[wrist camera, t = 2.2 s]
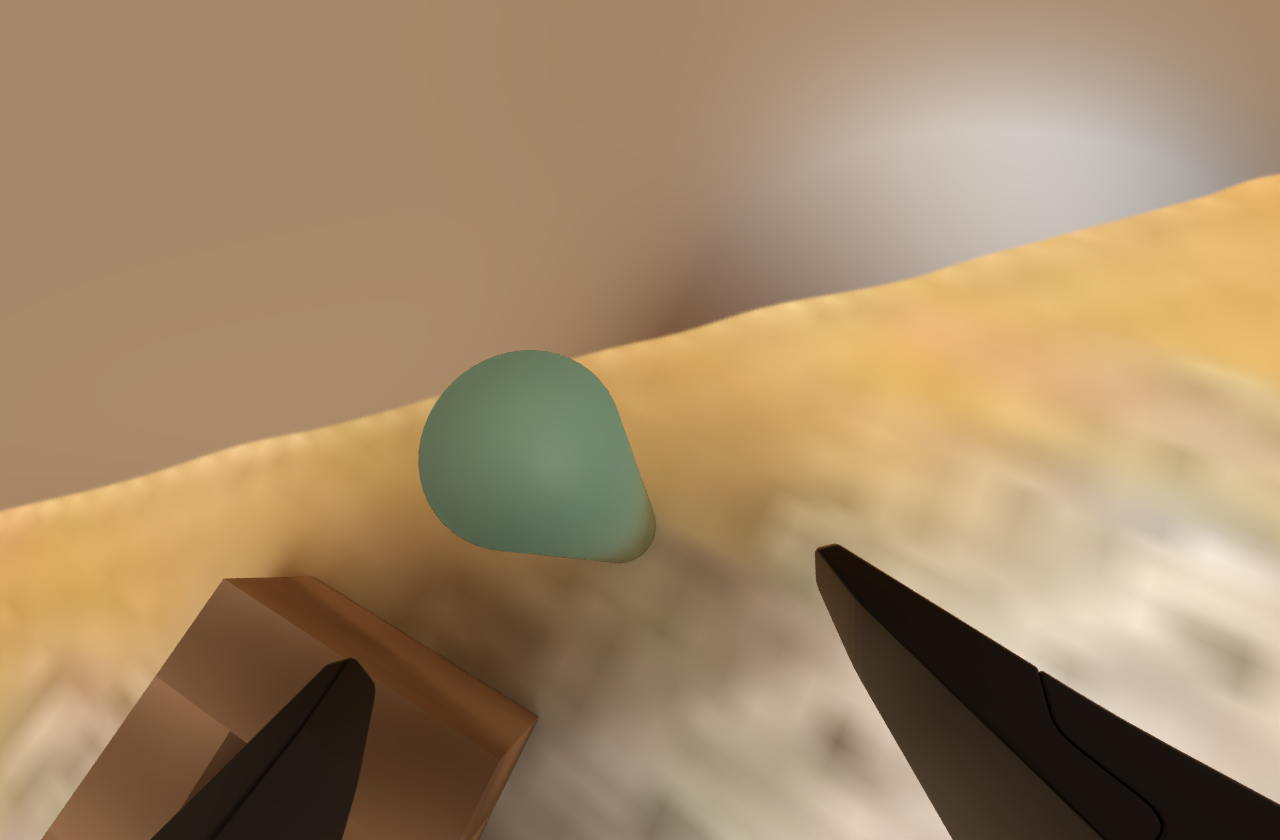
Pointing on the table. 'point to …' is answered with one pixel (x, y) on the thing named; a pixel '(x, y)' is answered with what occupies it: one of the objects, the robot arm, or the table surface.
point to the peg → (535, 462)
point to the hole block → (266, 681)
